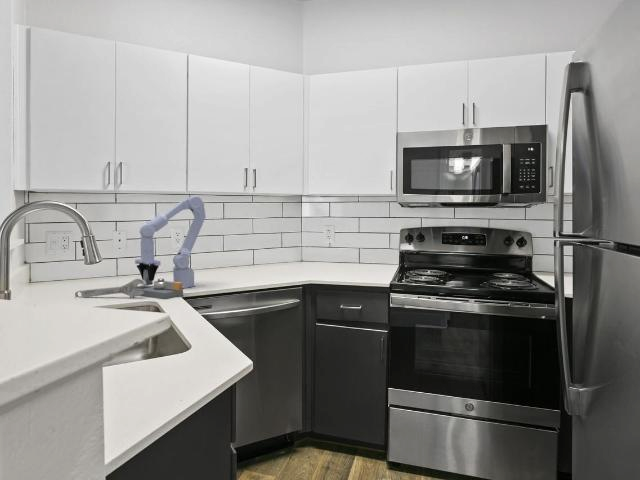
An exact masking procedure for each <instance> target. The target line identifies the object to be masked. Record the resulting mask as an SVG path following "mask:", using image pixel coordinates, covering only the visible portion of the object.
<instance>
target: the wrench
mask: <svg viewBox="0 0 640 480" xmlns="http://www.w3.org/2000/svg"><path fill="white" fill-rule="evenodd" d="M139 285H141V286H142V285H146V282H145V281H144V280H143V279H142V278H135V279H133V280H132V281H130V282H128V283H126V284H123V285H121V286H111V287H102V288H91V289H83V290H77V291H76V292H74V296H75V298H76V297H84V298H90V297H98V296H105V295H106V296H107V295H115V294H116V295H117V294H124V295H127V296H129V299H134V298H135V297H140V295H142V294H144V292H143V291H140V290H138V289H137V286H139ZM78 293H80V296H79V294H78Z"/></svg>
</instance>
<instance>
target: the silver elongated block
mask: <svg viewBox="0 0 640 480" xmlns="http://www.w3.org/2000/svg"><path fill="white" fill-rule="evenodd" d="M153 286H154V289H171V290H177V291H180V290H183V289H182V282H173V281H169V280H165V278H157V280H155V281H153Z"/></svg>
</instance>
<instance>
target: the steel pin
mask: <svg viewBox="0 0 640 480" xmlns="http://www.w3.org/2000/svg"><path fill="white" fill-rule="evenodd" d="M143 280H144V281H145V282H146V285H148V286H153V285H154V280H152V281H149V275H148V270H147V269H143Z"/></svg>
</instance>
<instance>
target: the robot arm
mask: <svg viewBox="0 0 640 480" xmlns="http://www.w3.org/2000/svg"><path fill="white" fill-rule="evenodd" d="M186 210H190V212H191V213H192V215H193V220H192V222H191V224H190V226H189V229H188V231H187V234H186V236H185V238H184V240H183V243H182V245H181V247H180V249H179V250H178V252H177V254H175V255H174V256H173V258H172V262H173V264H174V267H173V269H172V270H173V273H172V275H173V279H172V280H173V281H172V282H182V290H184V289H188V288H193V287H196V284H195V271H194V270H193V268H192V267H190V266H189V265H190V257H191V255H192V254H191V253H192V250H193V248H194V245H195V243H196V241H197V238H198V236H199V234H200V231H201V229H202V226H203V225H204V222H205V220H206V218H207V217H206V209H205V203H204V201H203V199H202V198H201V197H200V196H198V195H190V196H188V197H187V198H185V199H183V200H181V201H180V202H178V203H177V204H175V205H174V206H173V207H172V208H171V209H169V210H167V212H165V213H164V214H162V213H159V214H156V215H154V218H152V219H151V220H150V221H146V223H145V224H144V225H141V227H140V229H139V234H140V235H141V236H140V258H139V259H137V258H136V259H134V264H135V265H136V268H137V269H138V271H139V273H140V277H141V279H143V269H147V270H148V275H149V281H152V280H153V281H154V280H155V276H156V273H157V270H158V269H159V267H160V266H161V263H162V262H161V260H157V259H155V241H154V234H155V232H158V231H160V230H161V229H163V228H164V227H165V226H167V225H168V223H169V220H170V219H171V218H173V217H175V216H176V215H177V214H179V213H180V212H182V211H186ZM137 264H138V265H137Z"/></svg>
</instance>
